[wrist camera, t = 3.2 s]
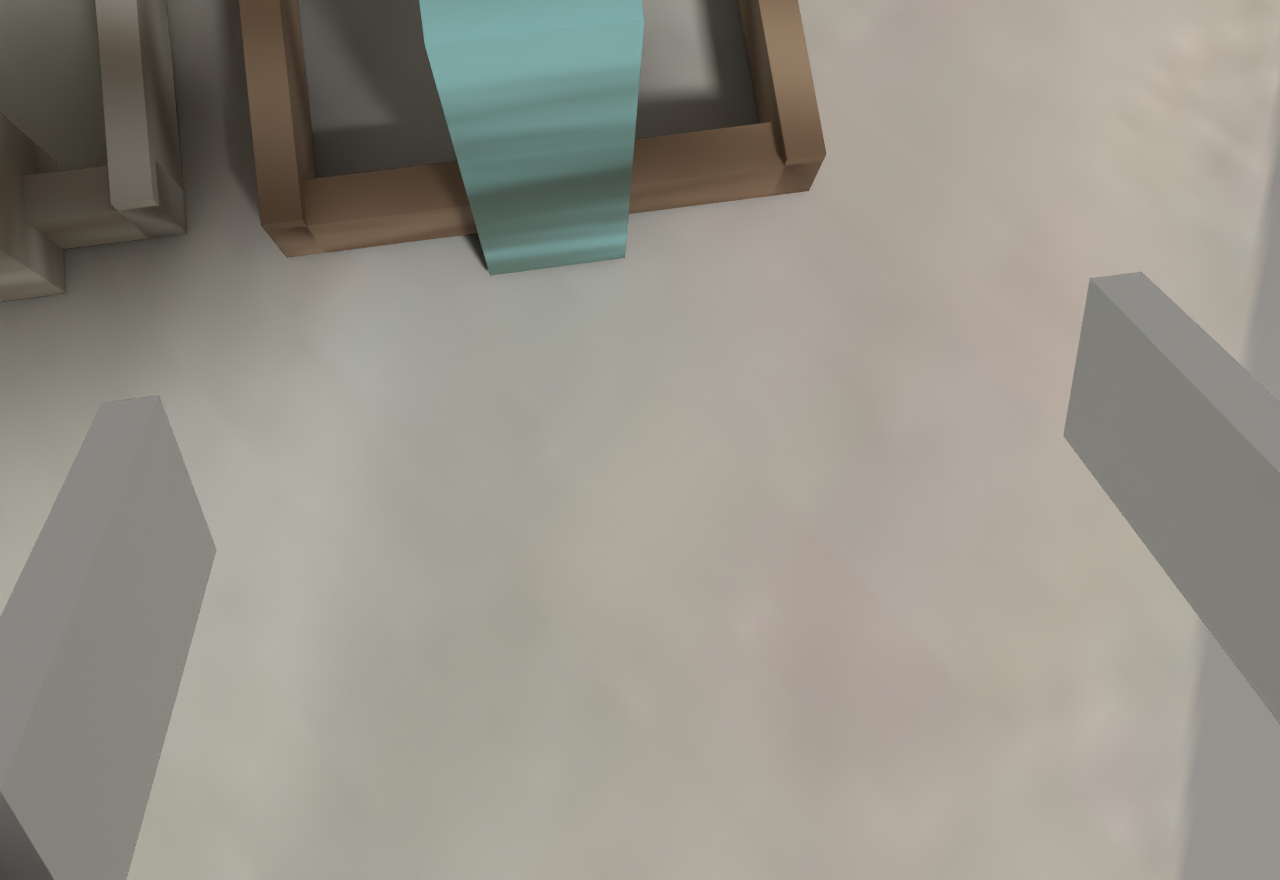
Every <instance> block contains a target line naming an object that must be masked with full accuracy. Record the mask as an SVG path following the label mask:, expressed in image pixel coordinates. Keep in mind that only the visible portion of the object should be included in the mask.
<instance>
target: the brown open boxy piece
mask: <svg viewBox="0 0 1280 880" xmlns="http://www.w3.org/2000/svg"><path fill="white" fill-rule="evenodd" d="M419 3H420V11H421V19H422V27H423V35H424V43H425V48H426V51H427V55H428V58H429V62H430V65H431V69H432V72H433V76H434V79H435V83H436V87H437V90H438V94H439V97H440V101H441V104H442V108H443V111H444V115H445V118H446V122H447V125H448V129H449V132H450V136H451V140H452V143H453V147H454V150H455V154H456V157H457V161H452V162H444V163H436V164H427V165H419V166H411V167H403V168H395V169H387V170H379V171H371V172H363V173H355V174H346V175H338V176H330V177H322V178H317V173H316V164H315V155H314V146H313V137H312V127H311V118H310V109H309V100H308V91H307V81H306V72H305V63H304V54H303V45H302V35H301V26H300V17H299V8H298V0H239V9H240V19H241V29H242V39H243V49H244V59H245V69H246V79H247V89H248V99H249V109H250V120H251V130H252V140H253V150H254V160H255V170H256V180H257V190H258V200H259V210H260V220H261V226H262V227H263V228H264V230H265V231H266V232H267V233H268V235H269V236H270V237H271V238H272V240H273V241H274V242H275V243H276V245H277V246H278V247H279V248H280V250H281V251H282V252H283V253H284V255H285V256H286V257H294V256H302V255H310V254H318V253H326V252H334V251H341V250H349V249H357V248H365V247H373V246H381V245H388V244H396V243H404V242H412V241H420V240H428V239H435V238H443V237H451V236H459V235H467V234H475V233H478V235H479V239H480V242H481V246H482V249H483V253H484V256H485V260H486V263H487V267H488V270H489V274H490V275H496V274H504V273H512V272H519V271H527V270H535V269H542V268H550V267H558V266H566V265H573V264H581V263H589V262H596V261H604V260H612V259H619V258H625V250H626V238H627V226H628V214H631V213H639V212H647V211H655V210H663V209H671V208H678V207H686V206H694V205H702V204H710V203H718V202H726V201H733V200H741V199H749V198H757V197H765V196H773V195H780V194H788V193H796V192H804V191H809V189H810V187H811V185H812V183H813V181H814V179H815V177H816V175H817V173H818V170H819V168H820V166H821V164H822V162H823V160H824V158H825V156H826V150H825V145H824V139H823V134H822V128H821V123H820V118H819V112H818V107H817V101H816V96H815V91H814V85H813V80H812V74H811V69H810V64H809V58H808V53H807V48H806V42H805V37H804V31H803V26H802V21H801V15H800V10H799V4H798V0H738V3H739V9H740V14H741V20H742V26H743V31H744V37H745V43H746V48H747V54H748V60H749V65H750V71H751V77H752V82H753V88H754V94H755V99H756V105H757V111H758V116H759V122H760V124H751V125H743V126H735V127H727V128H719V129H711V130H703V131H695V132H687V133H679V134H670V135H662V136H654V137H646V138H638V139H635V129H636V117H637V105H638V92H639V80H640V68H641V56H642V44H643V32H644V13H643V7H642V1H641V0H419Z"/></svg>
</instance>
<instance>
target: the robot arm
mask: <svg viewBox="0 0 1280 880" xmlns="http://www.w3.org/2000/svg"><path fill="white" fill-rule="evenodd" d="M1064 437H1065V439H1066V440H1067V441H1068V443H1069V444H1070V445H1071V447H1072V448H1073V449H1074V451H1075V452H1076V453H1077V455H1078V456H1079V457H1080V459H1081V460H1082V461H1083V463H1084V464H1085V465H1086V467H1087V468H1088V469H1089V471H1090V472H1091V473H1092V475H1093V476H1094V477H1095V479H1096V480H1097V481H1098V483H1099V484H1100V485H1101V487H1102V488H1103V489H1104V491H1105V492H1106V493H1107V495H1108V496H1109V497H1110V499H1111V500H1112V501H1113V503H1114V504H1115V505H1116V507H1117V508H1118V509H1119V511H1120V512H1121V513H1122V515H1123V516H1124V517H1125V519H1126V520H1127V521H1128V523H1129V524H1130V525H1131V527H1132V528H1133V529H1134V531H1135V532H1136V533H1137V535H1138V536H1139V537H1140V539H1141V540H1142V541H1143V543H1144V544H1145V545H1146V547H1147V548H1148V549H1149V551H1150V552H1151V553H1152V555H1153V556H1154V557H1155V559H1156V560H1157V561H1158V563H1159V564H1160V565H1161V567H1162V568H1163V569H1164V571H1165V572H1166V573H1167V575H1168V576H1169V577H1170V579H1171V580H1172V581H1173V583H1174V584H1175V585H1176V587H1177V588H1178V589H1179V591H1180V592H1181V593H1182V595H1183V596H1184V597H1185V599H1186V600H1187V601H1188V603H1189V604H1190V605H1191V607H1192V608H1193V609H1194V611H1195V612H1196V613H1197V615H1198V616H1199V617H1200V619H1201V620H1202V621H1203V623H1204V624H1205V625H1206V627H1207V628H1208V629H1209V631H1210V632H1211V633H1212V635H1213V636H1214V637H1215V639H1216V640H1217V641H1218V643H1219V644H1220V645H1221V647H1222V648H1223V649H1224V651H1225V652H1226V653H1227V655H1228V656H1229V657H1230V659H1231V660H1232V661H1233V663H1234V664H1235V665H1236V667H1237V668H1238V669H1239V671H1240V672H1241V673H1242V675H1243V676H1244V677H1245V679H1246V680H1247V681H1248V682H1249V684H1250V685H1251V687H1252V688H1253V689H1254V691H1255V692H1256V693H1257V695H1258V696H1259V697H1260V699H1261V700H1262V701H1263V703H1264V704H1265V705H1266V707H1267V708H1268V709H1269V711H1270V712H1271V713H1272V715H1273V716H1274V717H1275V719H1276V720H1277V721H1278V722H1279V724H1280V401H1279V400H1278V399H1277V398H1275V397H1274V396H1273V395H1272V394H1271V393H1270V392H1269V391H1268V390H1267V389H1266V388H1265V387H1264V386H1263V385H1262V384H1260V383H1259V382H1258V381H1257V380H1256V379H1255V378H1254V377H1253V376H1252V375H1251V374H1250V373H1249V372H1248V371H1247V370H1246V369H1245V368H1243V367H1242V366H1241V365H1240V364H1239V363H1238V362H1237V361H1236V360H1235V359H1234V358H1233V357H1232V356H1231V355H1230V354H1229V353H1227V352H1226V351H1225V350H1224V349H1223V348H1222V347H1221V346H1220V345H1219V344H1218V343H1217V342H1216V341H1215V340H1214V339H1213V338H1211V337H1210V336H1209V335H1208V334H1207V333H1206V332H1205V331H1204V330H1203V329H1202V328H1201V327H1200V326H1199V325H1198V324H1197V323H1195V322H1194V321H1193V320H1192V319H1191V318H1190V317H1189V316H1188V315H1187V314H1186V313H1185V312H1184V311H1183V310H1182V309H1181V308H1179V307H1178V306H1177V305H1176V304H1175V303H1174V302H1173V301H1172V300H1171V299H1170V298H1169V297H1168V296H1167V295H1166V294H1165V293H1163V292H1162V291H1161V290H1160V289H1159V288H1158V287H1157V286H1156V285H1155V284H1154V283H1153V282H1152V281H1151V280H1150V279H1149V278H1147V277H1146V276H1145V275H1144V274H1143V273H1142V272H1137V273H1129V274H1121V275H1113V276H1105V277H1097V278H1090V281H1089V287H1088V293H1087V299H1086V305H1085V311H1084V316H1083V322H1082V328H1081V334H1080V340H1079V346H1078V352H1077V358H1076V364H1075V370H1074V376H1073V382H1072V388H1071V394H1070V400H1069V406H1068V412H1067V418H1066V424H1065V430H1064ZM215 553H216V547H215V544H214V541H213V539H212V536H211V533H210V531H209V528H208V525H207V523H206V520H205V517H204V515H203V512H202V509H201V506H200V504H199V501H198V498H197V496H196V493H195V490H194V488H193V485H192V482H191V480H190V477H189V474H188V471H187V469H186V466H185V463H184V461H183V458H182V455H181V453H180V450H179V447H178V445H177V442H176V439H175V436H174V434H173V431H172V428H171V426H170V423H169V420H168V418H167V415H166V412H165V409H164V407H163V404H162V401H161V399H160V396H152V397H144V398H136V399H128V400H120V401H112V402H104V403H102V404H101V406H100V408H99V411H98V413H97V415H96V417H95V419H94V421H93V423H92V425H91V427H90V430H89V432H88V434H87V436H86V438H85V440H84V442H83V444H82V446H81V448H80V451H79V453H78V455H77V457H76V459H75V461H74V463H73V465H72V467H71V470H70V472H69V474H68V476H67V478H66V480H65V482H64V484H63V486H62V488H61V491H60V493H59V495H58V497H57V499H56V501H55V503H54V505H53V507H52V510H51V512H50V514H49V516H48V518H47V520H46V522H45V524H44V526H43V529H42V531H41V533H40V535H39V537H38V539H37V541H36V543H35V545H34V547H33V550H32V552H31V554H30V556H29V558H28V560H27V562H26V564H25V566H24V569H23V571H22V573H21V575H20V577H19V579H18V581H17V583H16V585H15V588H14V590H13V592H12V594H11V596H10V598H9V600H8V602H7V604H6V606H5V609H4V611H3V613H2V615H1V617H0V880H126V879H127V875H128V872H129V868H130V864H131V861H132V857H133V853H134V850H135V846H136V842H137V839H138V835H139V831H140V828H141V824H142V820H143V817H144V813H145V809H146V806H147V802H148V798H149V795H150V791H151V787H152V784H153V780H154V776H155V773H156V769H157V765H158V762H159V758H160V754H161V751H162V747H163V743H164V740H165V736H166V732H167V729H168V725H169V721H170V718H171V714H172V710H173V707H174V703H175V699H176V696H177V692H178V688H179V685H180V681H181V677H182V674H183V670H184V666H185V663H186V659H187V655H188V652H189V648H190V645H191V641H192V637H193V634H194V630H195V626H196V623H197V619H198V615H199V612H200V608H201V604H202V601H203V597H204V593H205V590H206V586H207V582H208V579H209V575H210V571H211V568H212V564H213V560H214V557H215Z"/></svg>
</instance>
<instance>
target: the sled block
mask: <svg viewBox="0 0 1280 880" xmlns="http://www.w3.org/2000/svg"><path fill="white" fill-rule="evenodd" d="M95 4H96V17H97V30H98V43H99V56H100V69H101V82H102V95H103V108H104V120H105V133H106V146H107V159H108V165H107V166H99V167H91V168H82V169H74V170H66V171H58V172H57V163H56V162H55V161H54V160H53V159H52V158H51V157H50V156H48V155H47V154H46V153H45V152H44V151H43V150H42V149H41V148H39V147H38V146H37V145H36V144H35V143H34V142H33V141H32V140H31V139H29V138H28V137H27V136H26V135H25V134H24V133H23V132H22V131H20V130H19V129H18V128H17V127H16V126H15V125H14V124H13V123H11V122H10V121H9V120H8V119H7V118H6V117H5V116H4V115H2V114H1V113H0V301H8V300H16V299H24V298H31V297H39V296H47V295H55V294H63V293H66V287H65V273H64V258H63V249H68V248H76V247H84V246H92V245H100V244H108V243H116V242H124V241H132V240H140V239H148V238H156V237H164V236H172V235H180V234H187V226H186V215H185V204H184V192H183V181H182V170H181V158H180V147H179V136H178V124H177V113H176V102H175V90H174V79H173V68H172V56H171V45H170V34H169V22H168V11H167V0H95Z"/></svg>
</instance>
